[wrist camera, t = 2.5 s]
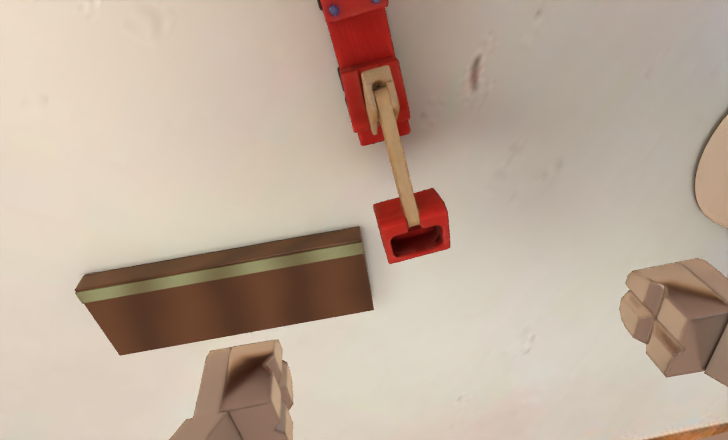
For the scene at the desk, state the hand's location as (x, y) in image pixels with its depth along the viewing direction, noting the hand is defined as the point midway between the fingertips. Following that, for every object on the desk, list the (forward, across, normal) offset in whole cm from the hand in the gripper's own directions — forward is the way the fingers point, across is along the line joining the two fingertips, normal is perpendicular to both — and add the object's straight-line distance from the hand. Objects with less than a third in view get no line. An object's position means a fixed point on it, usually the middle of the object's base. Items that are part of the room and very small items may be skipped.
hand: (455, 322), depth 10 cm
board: (+20, +11, +14) cm, 26 cm away
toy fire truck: (+19, 0, 0) cm, 19 cm away
